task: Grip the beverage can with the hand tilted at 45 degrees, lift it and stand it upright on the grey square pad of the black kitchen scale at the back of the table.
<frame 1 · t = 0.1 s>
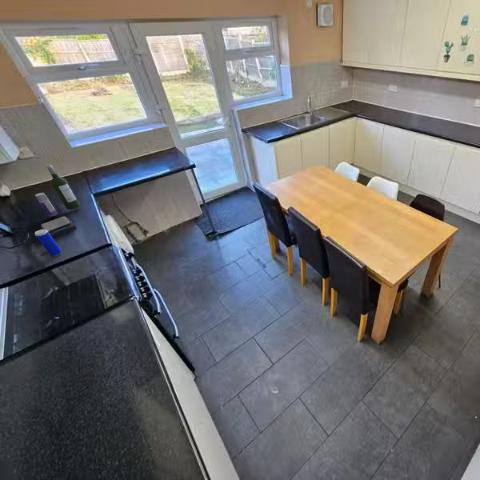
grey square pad: (55, 224, 168), point 3 cm above the worktop, slide at 0.0 cm
container: (53, 214, 183), on the worktop
beverage can: (57, 254, 151), on the worktop
scale: (59, 229, 169), on the worktop
wine bottle: (74, 207, 190), on the worktop
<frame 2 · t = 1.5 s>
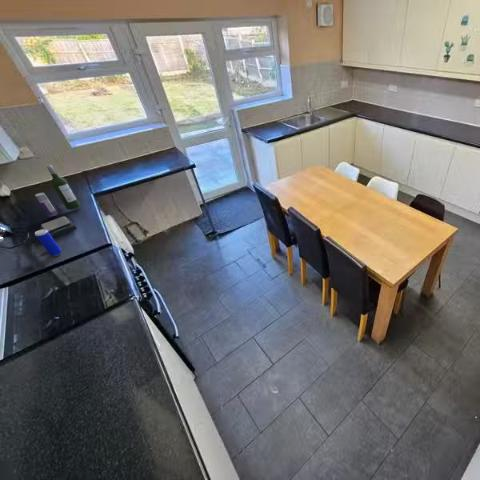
hand: (4, 235, 134), 19 cm above the worktop, tool tilted 45°, fingers open, 8 cm apart
nothing on the worktop moved.
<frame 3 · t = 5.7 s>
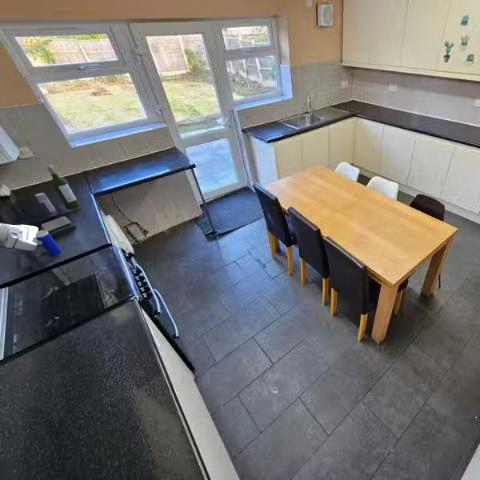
hand: (48, 241, 146), 9 cm above the worktop, tool tilted 45°, fingers closed on beverage can, 3 cm apart
beverage can: (56, 253, 150), on the worktop, touching gripper
everything else where it was.
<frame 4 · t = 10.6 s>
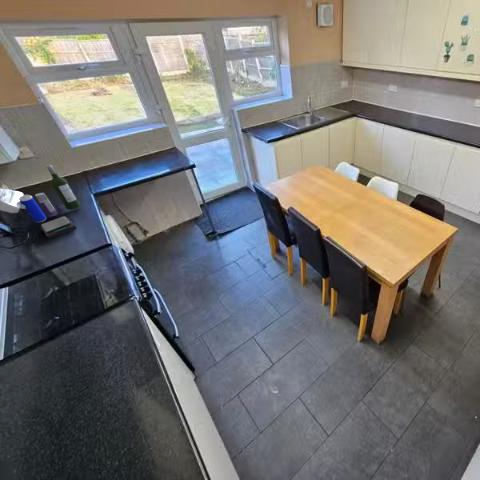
hand: (32, 206, 146), 23 cm above the worktop, tool tilted 45°, fingers closed on beverage can, 3 cm apart
beverage can: (41, 220, 151), point 15 cm above the worktop, touching gripper
everything else where it was.
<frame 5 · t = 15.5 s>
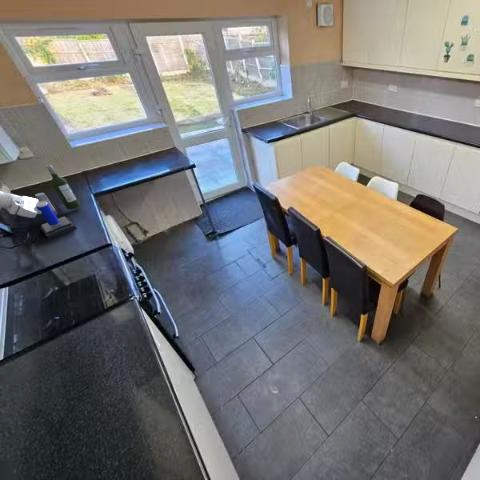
hand: (47, 211, 163), 12 cm above the worktop, tool tilted 45°, fingers closed on beverage can, 3 cm apart
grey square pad: (56, 224, 168), point 3 cm above the worktop, slide at -0.2 cm, touching beverage can
beverage can: (54, 223, 167), point 4 cm above the worktop, touching gripper, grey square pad
everything else where it was.
when the fingers open (12 cm above the worktop, at t = 15.6 s): beverage can stays where it is, resting on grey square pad.
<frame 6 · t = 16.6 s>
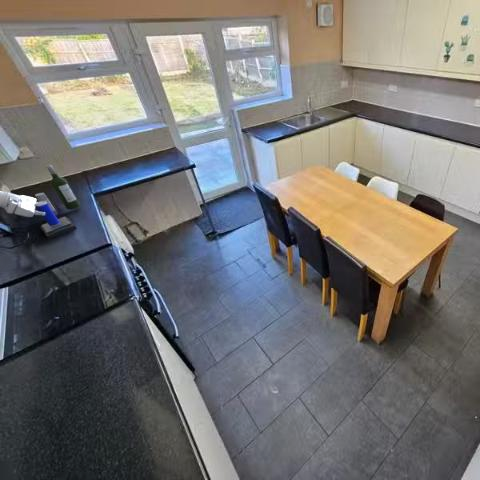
hand: (45, 210, 161), 13 cm above the worktop, tool tilted 45°, fingers open, 8 cm apart
beverage can: (55, 224, 167), point 3 cm above the worktop, touching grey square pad
everything else where it was.
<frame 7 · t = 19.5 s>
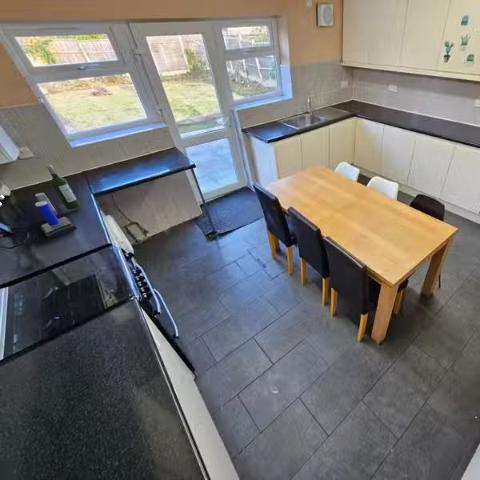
hand: (2, 201, 147), 25 cm above the worktop, tool tilted 45°, fingers open, 8 cm apart
nothing on the worktop moved.
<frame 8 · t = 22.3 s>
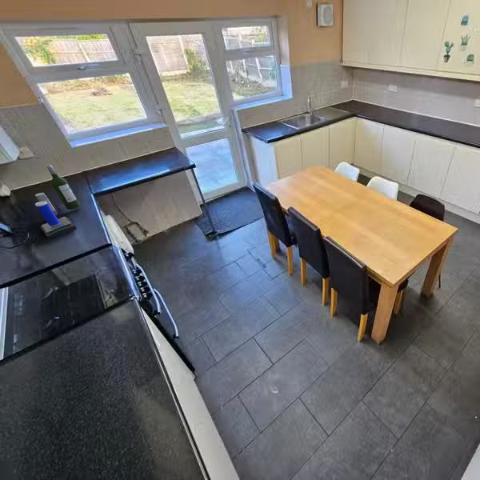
nothing on the worktop moved.
at the end: beverage can inside the target area on the scale (0.6 cm from its centre), point 3.3 cm above the scale's base; beverage can tilted 4°; beverage can touching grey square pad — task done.
